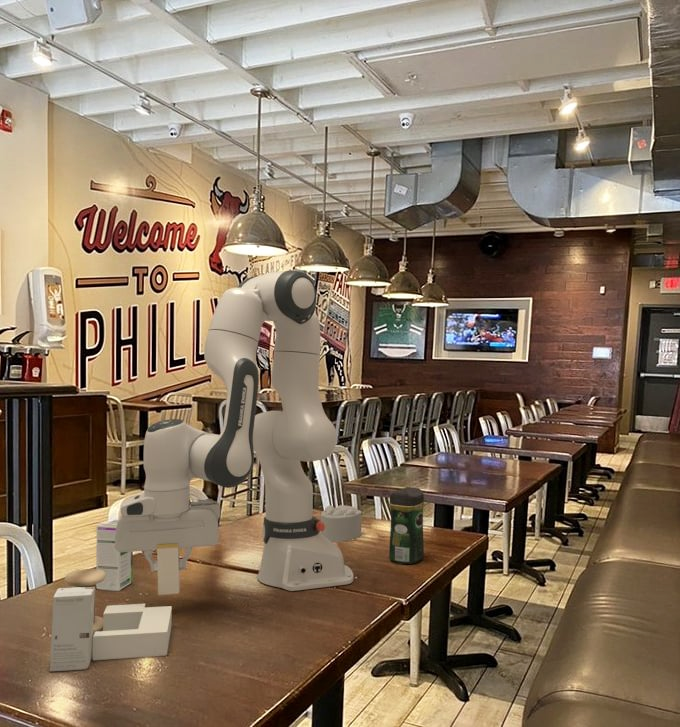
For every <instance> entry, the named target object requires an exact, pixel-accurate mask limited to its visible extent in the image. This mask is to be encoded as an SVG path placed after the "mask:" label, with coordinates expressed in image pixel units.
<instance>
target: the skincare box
mask: <svg viewBox="0 0 680 727" xmlns="http://www.w3.org/2000/svg"><path fill="white" fill-rule="evenodd" d="M94 597H95V598H96V586H95V587H75V586H72V587H60V588H57V589H56V591H55V592H54V595H53V597H52V615H51V637H50V659H49V662H50V663H49V672H61V671H63V672H66V671H78V670H87V669H88V668H89V666H90V663H91V662H92V659H93V636H94V634H93V620H94Z"/></svg>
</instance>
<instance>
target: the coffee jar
mask: <svg viewBox="0 0 680 727" xmlns="http://www.w3.org/2000/svg"><path fill="white" fill-rule="evenodd" d="M424 496H425V495H424V492H423V491H422V490H421V488H419V487H413V486H412V487H411V486H405V487H404V488H401V489H399V490H395V491H393V492H391V493H390V494H389V510H390V534H389V536H390V537H389V547H388V548H389V549H388V550H389V551H388V552H389V553H388V556H389V557H388V559H389V560H390V561H392V562H395V563H396V564H401V565H404V564H409V565H412V564H415V563H418V562H419V561H420V560H422V559H423V558H424V555H425V552H424V551H425V550H424V549H425V548H424V547H425V546H424V545H425V544H424V506H425V500H424V498H425V497H424Z"/></svg>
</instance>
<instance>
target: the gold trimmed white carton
mask: <svg viewBox="0 0 680 727" xmlns="http://www.w3.org/2000/svg"><path fill="white" fill-rule="evenodd" d="M156 553H157V555H156V557H157V560H156V561H157V565H158V572H157V595H158V596H165V595H177V594H179V593H180V589H181V577H180V576H181V570H179V559H181V558H180V548H178V543H172V544H158V545H157V550H156Z"/></svg>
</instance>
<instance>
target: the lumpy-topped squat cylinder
mask: <svg viewBox="0 0 680 727" xmlns="http://www.w3.org/2000/svg"><path fill="white" fill-rule="evenodd" d="M362 514H363V513H362V511H361V510H360V509H357V508H356V507H355V506H350V505H345V504H340V505H338V506H337V507H334V506H333V505H331V504H330V505H327V506H326V507H325V508H324V510H323V511H322V512H321V514H320V521H321V522H323V523H324V525H325V529H323V530H324V531H322V532H320V533H321V534H323V535H324V536H325V537H326V538H328V539H329V540H330V541H331V542H333V543H341V542H340V541H347V542H349V541H348V540H352V539H355V538H357V539H359V538H361V537H362V518H363V517H362ZM360 536H361V537H360ZM358 537H359V538H358ZM355 540H356V539H355ZM352 541H353V540H352Z"/></svg>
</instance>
